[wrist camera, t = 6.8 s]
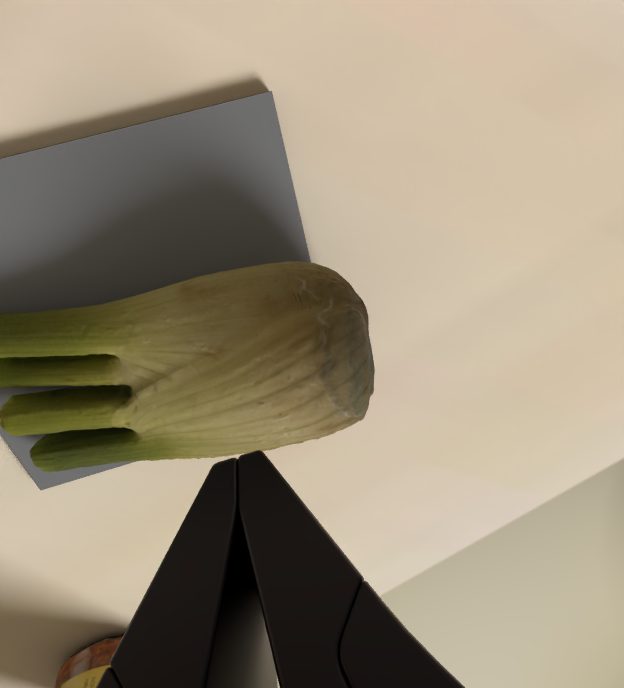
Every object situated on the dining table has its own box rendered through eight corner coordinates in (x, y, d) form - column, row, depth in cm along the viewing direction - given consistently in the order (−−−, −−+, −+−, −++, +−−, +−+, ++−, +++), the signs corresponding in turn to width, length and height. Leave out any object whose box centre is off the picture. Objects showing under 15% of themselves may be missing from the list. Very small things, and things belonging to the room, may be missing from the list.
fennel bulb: (383, 460, 15) (33, 495, 16) (364, 339, 18) (69, 374, 19) (382, 364, 10) (-115, 420, 11) (357, 221, 13) (-36, 274, 14)
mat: (269, 91, 13) (271, 90, 13) (339, 393, 19) (341, 398, 18) (-158, 198, 13) (-168, 201, 12) (43, 482, 18) (40, 490, 18)
